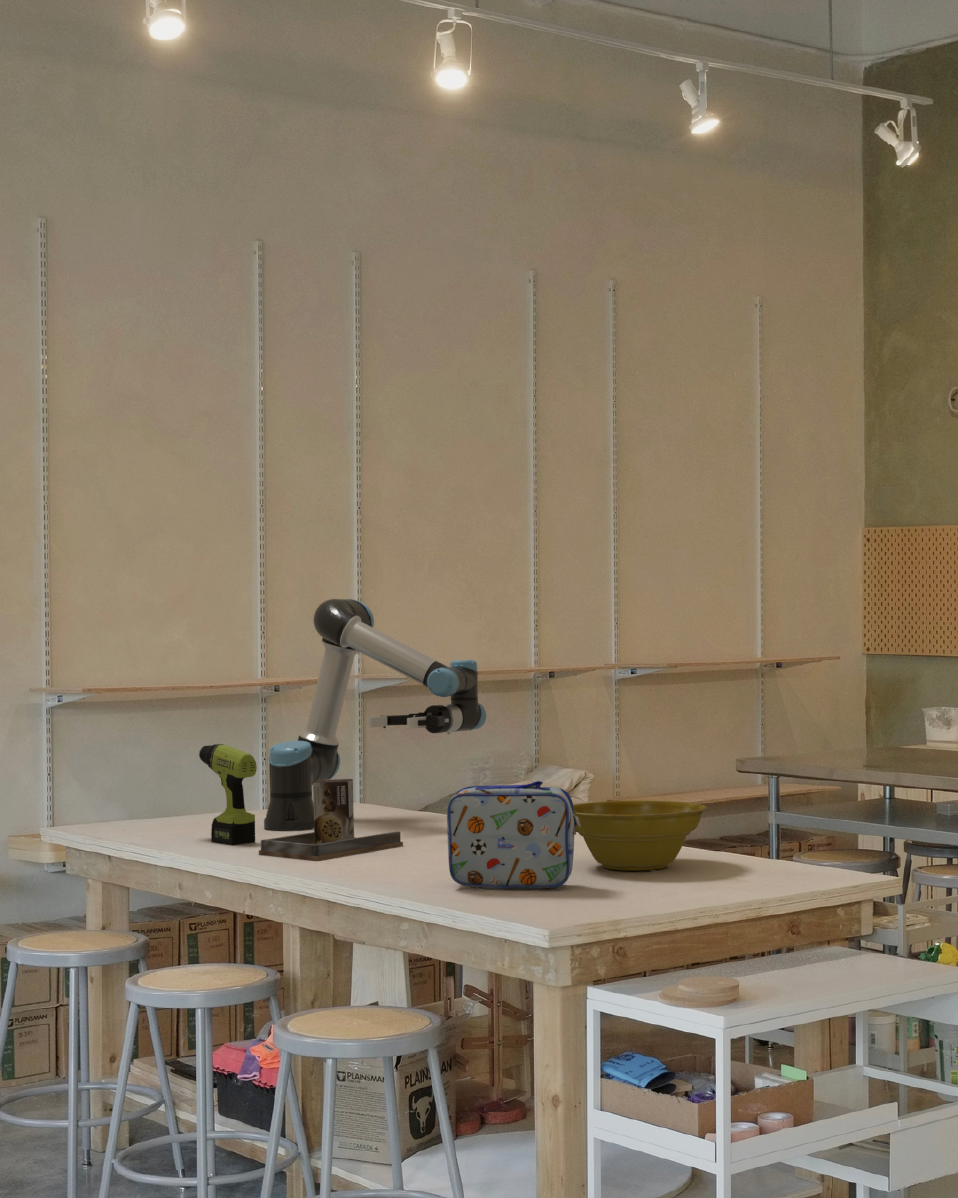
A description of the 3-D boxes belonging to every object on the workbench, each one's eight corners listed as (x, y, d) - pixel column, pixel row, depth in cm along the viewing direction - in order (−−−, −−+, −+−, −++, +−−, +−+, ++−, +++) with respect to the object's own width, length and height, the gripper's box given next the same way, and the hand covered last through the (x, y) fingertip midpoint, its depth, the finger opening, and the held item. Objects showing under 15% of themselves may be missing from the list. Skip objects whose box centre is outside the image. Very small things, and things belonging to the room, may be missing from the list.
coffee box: (355, 843, 378) (354, 778, 379) (350, 847, 372) (349, 781, 373) (318, 843, 379) (317, 778, 380) (313, 847, 373) (312, 781, 373)
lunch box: (583, 883, 317) (581, 777, 318) (578, 892, 307) (576, 782, 307) (453, 882, 321) (451, 778, 322) (444, 891, 311) (442, 782, 312)
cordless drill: (188, 838, 403) (187, 743, 403) (211, 835, 407) (210, 742, 408) (237, 846, 386) (236, 747, 386) (260, 843, 390) (259, 745, 391)
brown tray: (258, 854, 369) (258, 840, 370) (344, 840, 393) (344, 826, 393) (317, 860, 357) (317, 845, 357) (403, 845, 380) (402, 831, 380)
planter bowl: (570, 856, 357) (569, 798, 357) (709, 857, 352) (708, 798, 352) (553, 878, 325) (552, 814, 326) (706, 879, 320) (705, 815, 320)
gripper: (477, 733, 404) (425, 738, 387) (407, 731, 420) (353, 736, 403) (477, 705, 404) (424, 709, 388) (407, 704, 420) (353, 707, 403)
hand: (388, 723), depth 395 cm, fingers open, 13 cm apart
